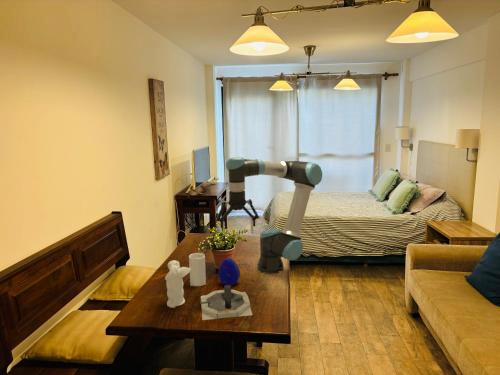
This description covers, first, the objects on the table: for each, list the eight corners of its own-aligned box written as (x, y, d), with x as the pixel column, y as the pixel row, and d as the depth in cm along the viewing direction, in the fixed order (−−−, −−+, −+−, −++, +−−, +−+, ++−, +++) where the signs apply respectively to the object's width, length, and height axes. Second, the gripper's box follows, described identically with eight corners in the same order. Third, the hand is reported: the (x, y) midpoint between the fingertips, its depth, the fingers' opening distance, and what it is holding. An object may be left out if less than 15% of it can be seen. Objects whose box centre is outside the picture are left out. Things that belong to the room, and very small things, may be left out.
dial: (205, 299, 175) (204, 276, 172) (237, 294, 179) (237, 271, 177) (211, 316, 159) (210, 291, 157) (246, 310, 164) (246, 285, 162)
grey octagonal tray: (245, 293, 182) (245, 287, 181) (252, 318, 160) (252, 311, 159) (199, 297, 178) (199, 291, 178) (200, 323, 156) (200, 316, 156)
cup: (203, 288, 188) (201, 259, 185) (188, 287, 190) (186, 258, 187) (208, 281, 196) (206, 253, 193) (193, 280, 198) (192, 252, 195)
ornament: (242, 283, 193) (241, 256, 190) (234, 290, 185) (233, 263, 182) (224, 279, 198) (223, 253, 195) (215, 286, 190) (214, 259, 187)
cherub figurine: (170, 298, 179) (167, 255, 175) (195, 298, 178) (193, 255, 175) (163, 310, 167) (160, 265, 163) (190, 310, 166) (188, 265, 163)
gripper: (210, 193, 165) (212, 238, 170) (264, 190, 169) (265, 234, 173) (209, 190, 173) (211, 233, 177) (261, 187, 177) (262, 229, 181)
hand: (238, 233), depth 175 cm, fingers open, 13 cm apart
